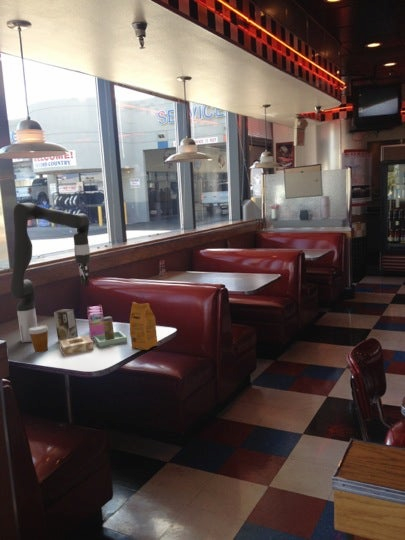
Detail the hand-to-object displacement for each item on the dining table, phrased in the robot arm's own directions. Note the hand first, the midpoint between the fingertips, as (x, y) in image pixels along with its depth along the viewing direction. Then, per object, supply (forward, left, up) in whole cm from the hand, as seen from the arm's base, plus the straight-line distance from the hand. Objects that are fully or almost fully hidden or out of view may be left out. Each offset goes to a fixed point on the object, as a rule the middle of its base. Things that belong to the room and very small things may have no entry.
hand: (85, 284), depth 255 cm
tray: (+7, -9, -30) cm, 32 cm away
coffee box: (-11, +12, -30) cm, 34 cm away
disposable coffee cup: (-26, +1, -30) cm, 40 cm away
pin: (+7, -9, -29) cm, 31 cm away
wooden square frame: (-10, -9, -30) cm, 33 cm away
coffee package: (+19, -29, -30) cm, 46 cm away
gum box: (+6, +14, -30) cm, 34 cm away
